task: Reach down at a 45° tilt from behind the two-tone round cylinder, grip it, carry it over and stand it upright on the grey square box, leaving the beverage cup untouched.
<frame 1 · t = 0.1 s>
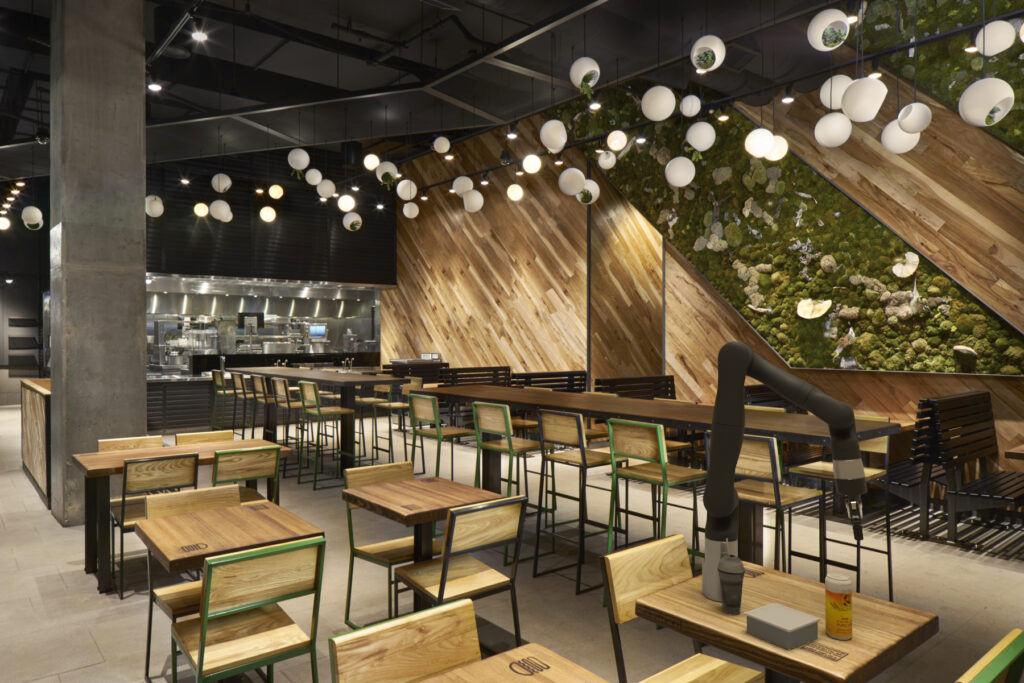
hand: (858, 536, 176), 22 cm above the table, tool pointing down, fingers open, 8 cm apart
grey square box: (781, 635, 166), on the table
beverage cup: (731, 612, 181), on the table
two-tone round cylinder: (838, 636, 166), on the table
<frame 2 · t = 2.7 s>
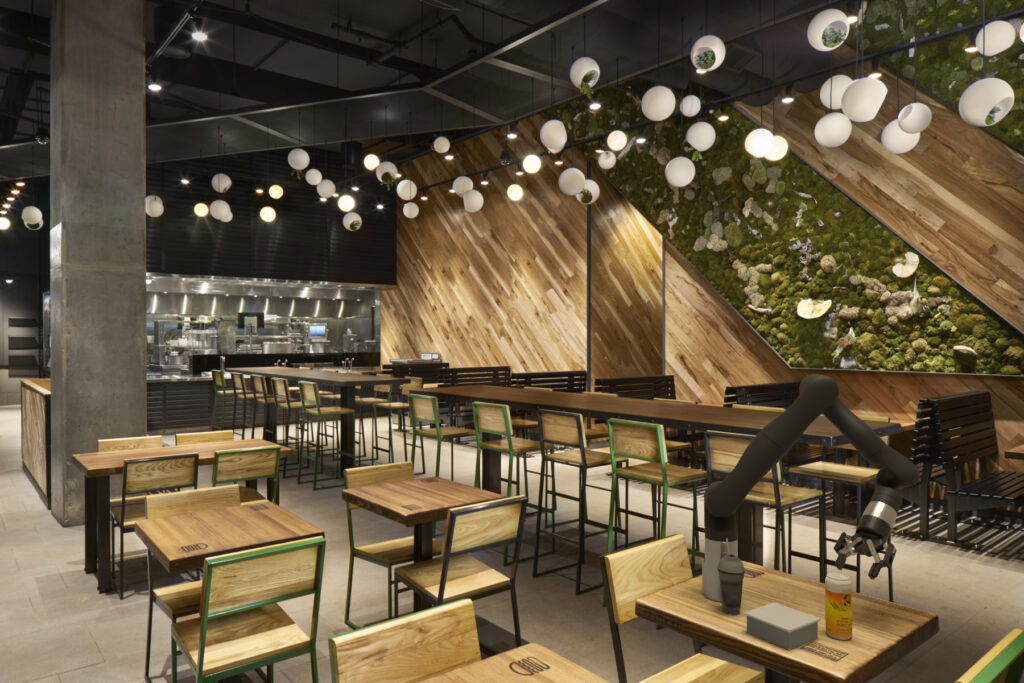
hand: (854, 572, 170), 14 cm above the table, tool tilted 45°, fingers open, 8 cm apart
nothing on the table moved.
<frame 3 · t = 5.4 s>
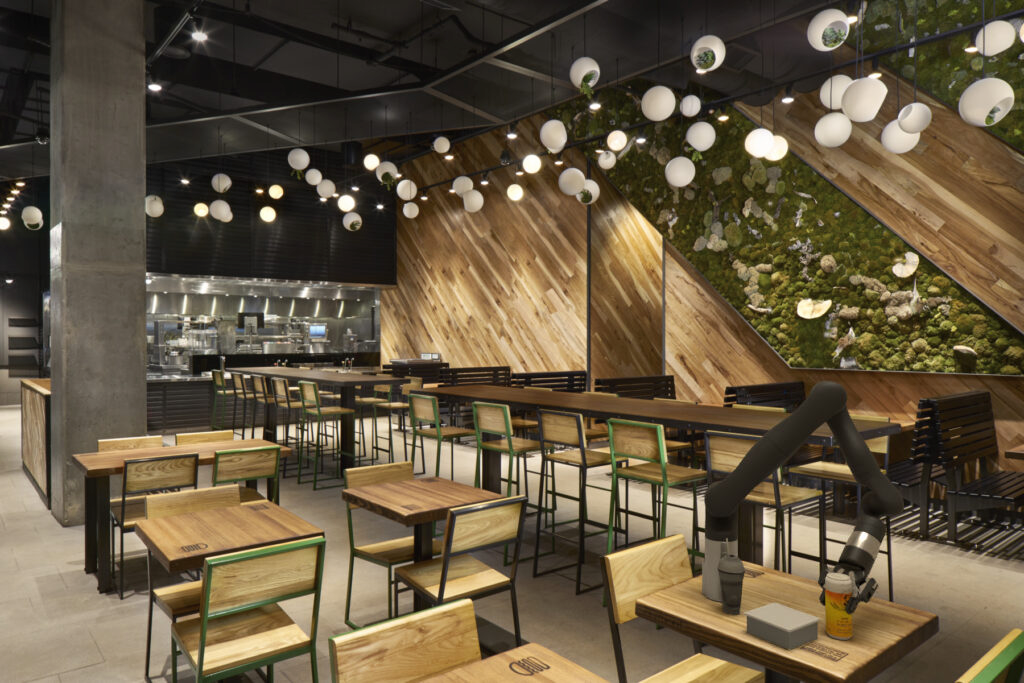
hand: (835, 608, 165), 7 cm above the table, tool tilted 45°, fingers closed on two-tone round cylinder, 6 cm apart
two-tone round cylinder: (838, 636, 166), on the table, touching gripper
everything else where it was.
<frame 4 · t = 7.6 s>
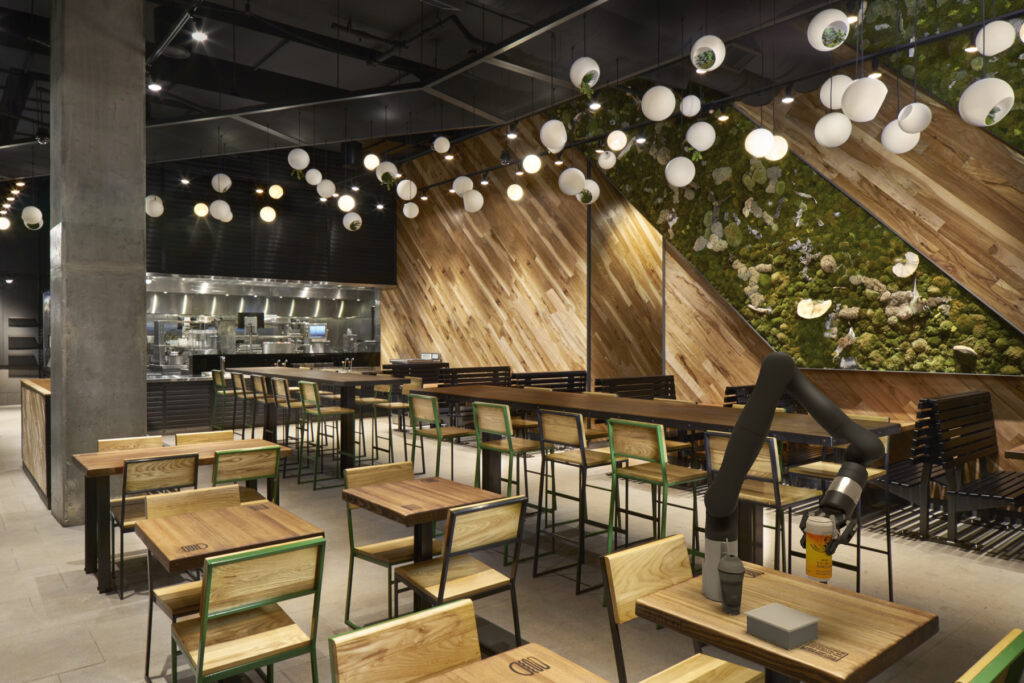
hand: (815, 550, 166), 22 cm above the table, tool tilted 45°, fingers closed on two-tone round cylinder, 6 cm apart
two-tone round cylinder: (818, 578, 167), point 14 cm above the table, touching gripper
everything else where it was.
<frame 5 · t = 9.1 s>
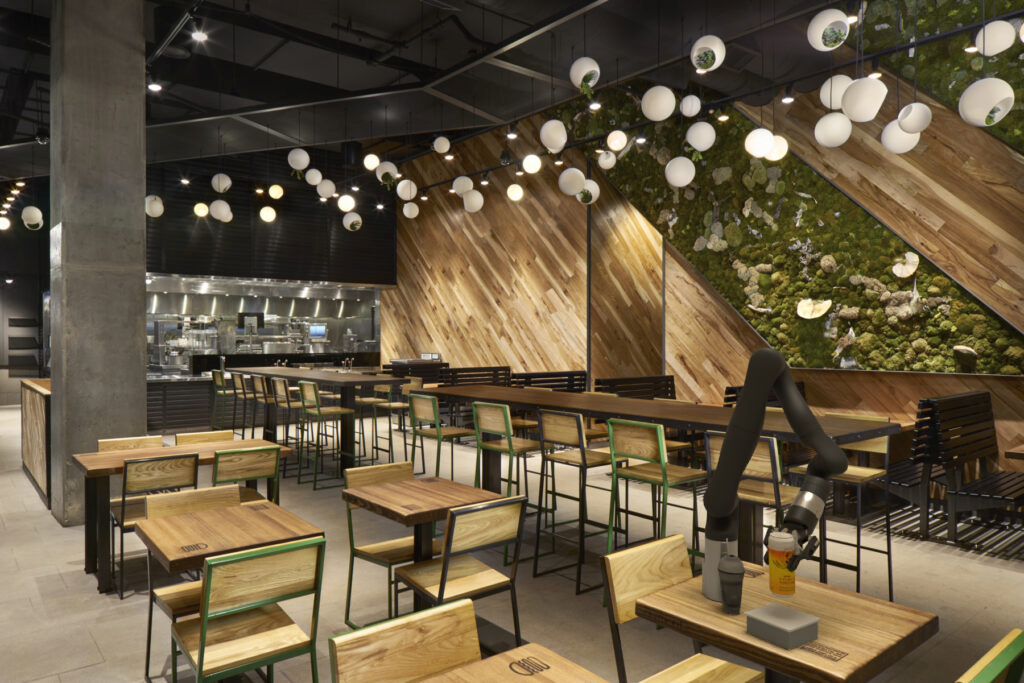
hand: (777, 566, 165), 18 cm above the table, tool tilted 45°, fingers closed on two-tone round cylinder, 6 cm apart
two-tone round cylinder: (782, 595, 166), point 10 cm above the table, touching gripper
everything else where it was.
when the fingers open (14 cm above the table, at t = 10.3 s): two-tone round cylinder drops 1 cm, resting on grey square box.
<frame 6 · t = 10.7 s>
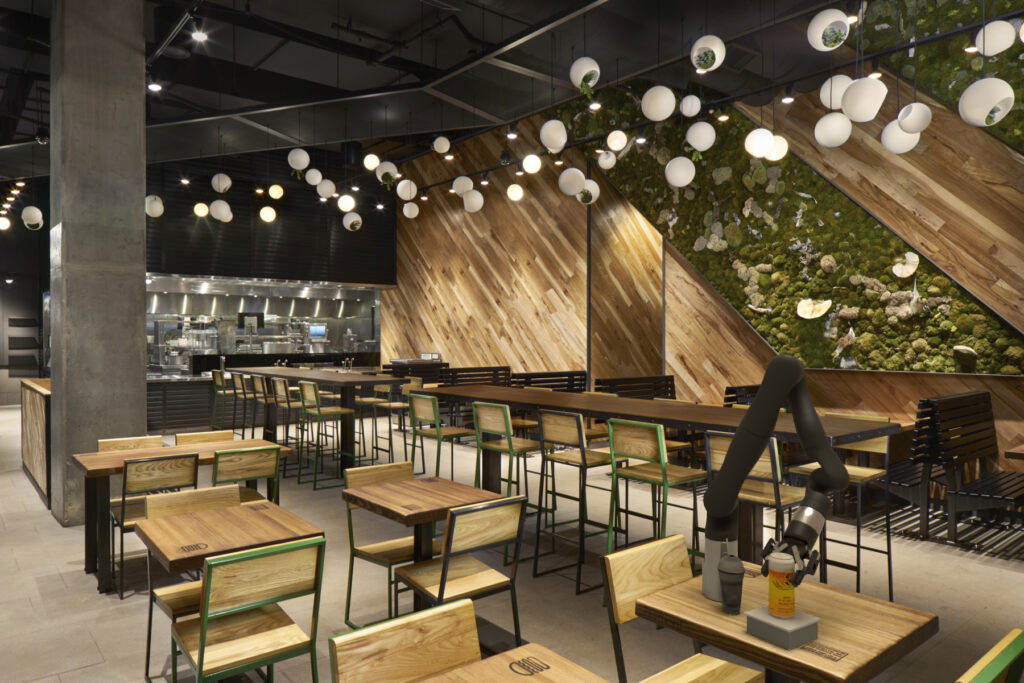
hand: (778, 580, 166), 14 cm above the table, tool tilted 45°, fingers open, 8 cm apart
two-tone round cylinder: (781, 616, 166), point 5 cm above the table, touching grey square box
everything else where it was.
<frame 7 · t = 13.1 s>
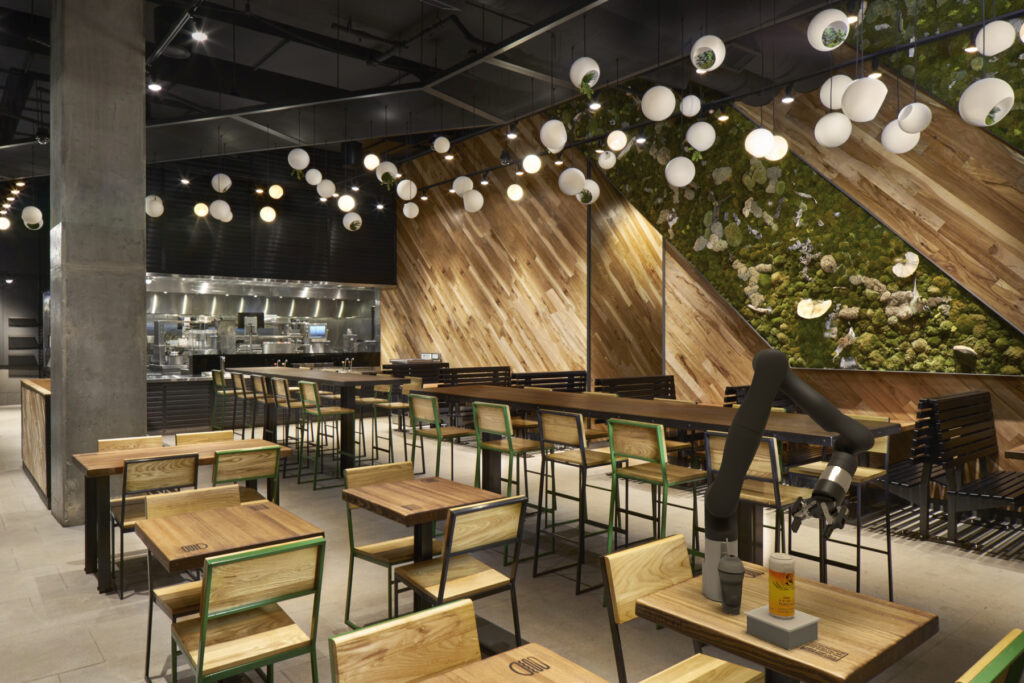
hand: (808, 534, 173), 24 cm above the table, tool tilted 45°, fingers open, 8 cm apart
nothing on the table moved.
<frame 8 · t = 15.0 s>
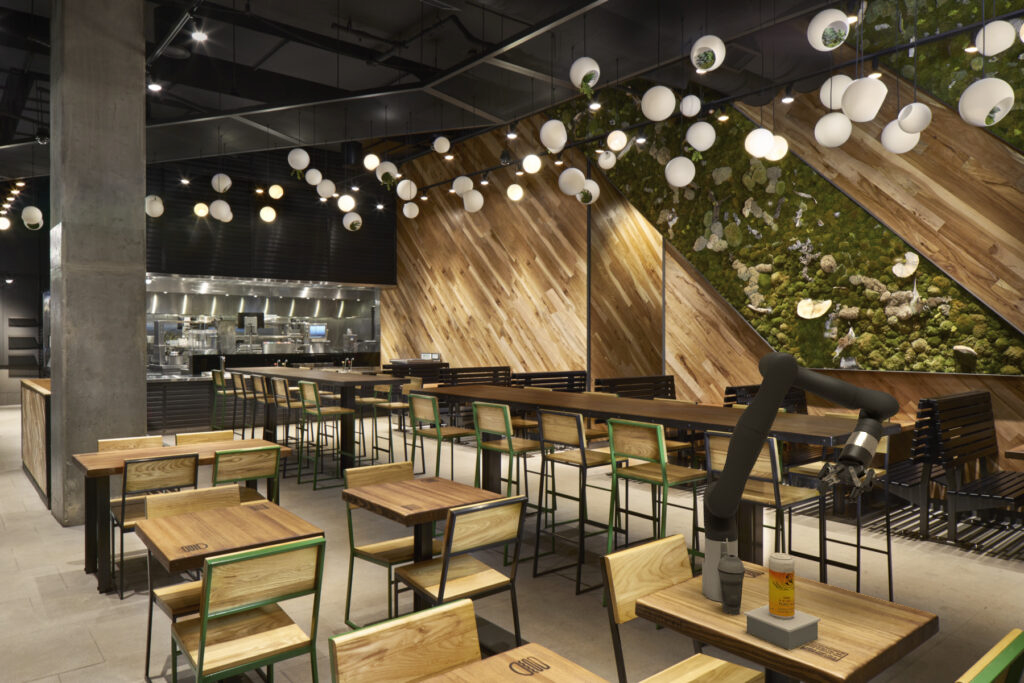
hand: (836, 497, 177), 33 cm above the table, tool tilted 45°, fingers open, 8 cm apart
nothing on the table moved.
at the end: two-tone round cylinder inside the target area on the grey square box (0.1 cm from its centre), point 4.8 cm above the grey square box's base; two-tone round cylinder tilted 0°; the gripper is holding nothing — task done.
